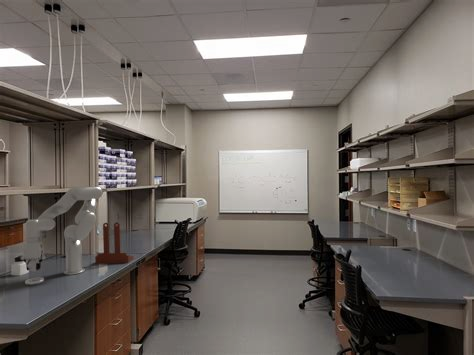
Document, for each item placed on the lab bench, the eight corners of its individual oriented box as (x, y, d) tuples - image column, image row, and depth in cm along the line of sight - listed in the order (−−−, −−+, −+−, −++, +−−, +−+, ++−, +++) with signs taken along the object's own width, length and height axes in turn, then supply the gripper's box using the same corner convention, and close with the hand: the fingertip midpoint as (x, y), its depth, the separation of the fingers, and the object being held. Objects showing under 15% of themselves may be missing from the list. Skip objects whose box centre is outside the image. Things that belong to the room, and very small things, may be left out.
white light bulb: (31, 269, 206) (31, 260, 206) (39, 269, 206) (39, 259, 206) (25, 272, 200) (25, 262, 200) (34, 272, 200) (34, 262, 200)
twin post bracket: (133, 258, 258) (132, 219, 258) (128, 262, 245) (127, 222, 245) (102, 259, 258) (101, 220, 258) (95, 263, 245) (94, 223, 245)
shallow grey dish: (30, 280, 209) (30, 277, 209) (47, 279, 209) (47, 276, 209) (21, 285, 199) (21, 282, 199) (38, 284, 199) (38, 281, 199)
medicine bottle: (29, 272, 226) (28, 254, 226) (20, 275, 219) (19, 257, 219) (20, 272, 228) (19, 254, 228) (11, 275, 221) (10, 257, 221)
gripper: (50, 238, 208) (50, 267, 208) (22, 239, 207) (22, 268, 207) (44, 240, 201) (44, 270, 201) (15, 241, 200) (15, 271, 199)
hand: (33, 269), depth 204 cm, fingers closed on white light bulb, 4 cm apart
